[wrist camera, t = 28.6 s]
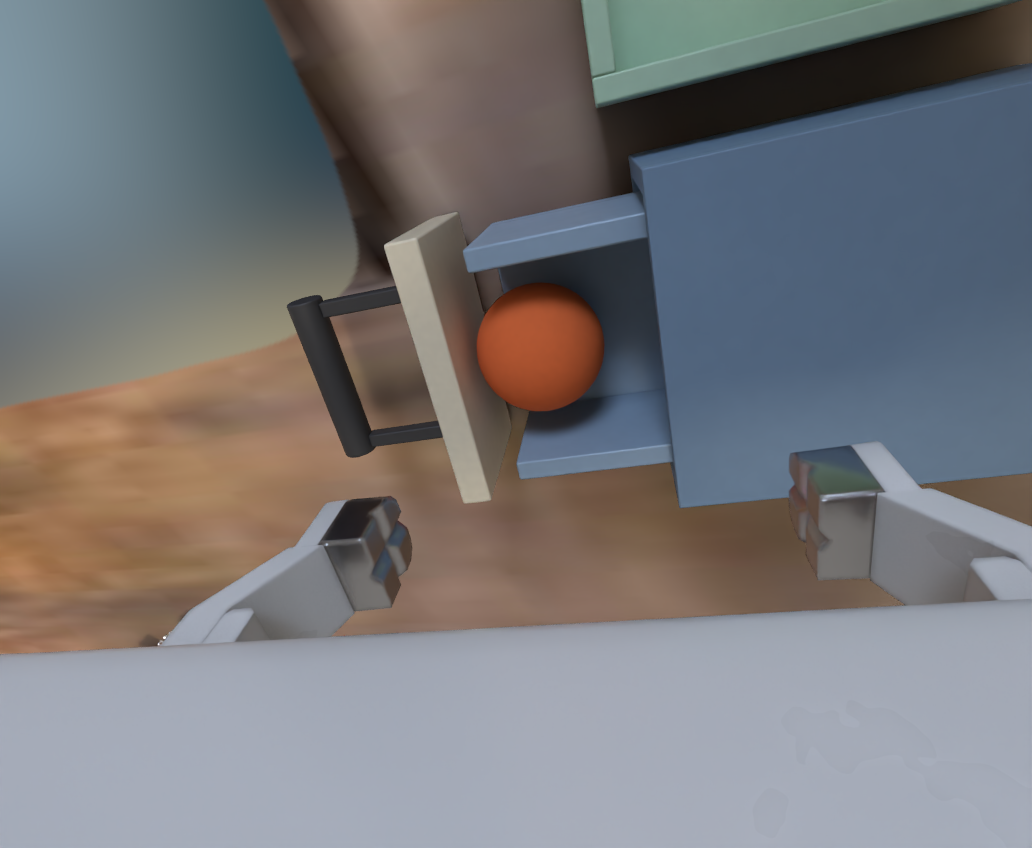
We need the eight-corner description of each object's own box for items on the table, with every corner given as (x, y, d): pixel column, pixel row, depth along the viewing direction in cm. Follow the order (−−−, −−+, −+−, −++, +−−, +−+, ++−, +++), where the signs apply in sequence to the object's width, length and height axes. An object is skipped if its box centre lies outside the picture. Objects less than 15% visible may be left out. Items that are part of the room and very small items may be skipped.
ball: (505, 272, 25) (436, 310, 21) (613, 261, 22) (556, 302, 18) (529, 378, 27) (470, 430, 23) (630, 380, 24) (582, 438, 20)
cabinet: (659, 411, 28) (679, 508, 21) (628, 155, 23) (641, 168, 16) (976, 367, 25) (1124, 464, 18) (1018, 64, 20) (1248, 31, 13)
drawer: (384, 445, 30) (336, 518, 24) (311, 244, 25) (231, 277, 20) (752, 395, 26) (793, 468, 21) (742, 147, 22) (791, 155, 16)
